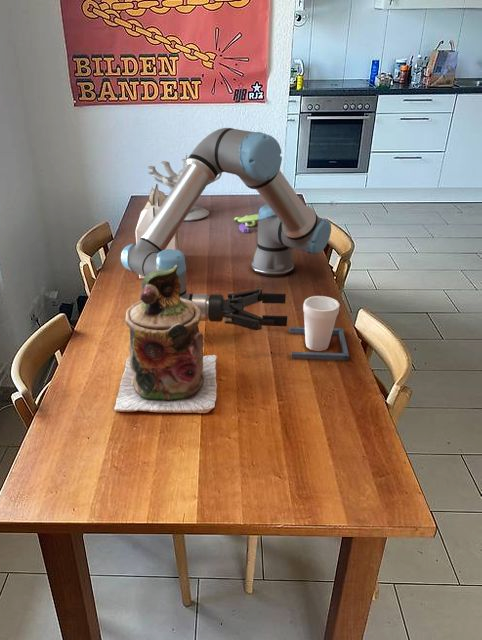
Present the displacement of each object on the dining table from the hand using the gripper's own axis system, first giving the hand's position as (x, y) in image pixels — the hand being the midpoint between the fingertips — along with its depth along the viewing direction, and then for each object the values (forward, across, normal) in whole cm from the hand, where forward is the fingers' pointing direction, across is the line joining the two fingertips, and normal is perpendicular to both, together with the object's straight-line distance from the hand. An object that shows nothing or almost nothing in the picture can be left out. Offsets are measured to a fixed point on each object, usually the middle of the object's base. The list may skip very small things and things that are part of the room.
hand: (286, 309), depth 158 cm
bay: (+9, 0, -11) cm, 14 cm away
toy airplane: (-5, -100, -11) cm, 100 cm away
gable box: (-44, -54, -11) cm, 71 cm away
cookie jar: (-30, +23, -11) cm, 39 cm away
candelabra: (-40, -115, -11) cm, 122 cm away
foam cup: (+9, 0, -11) cm, 14 cm away
